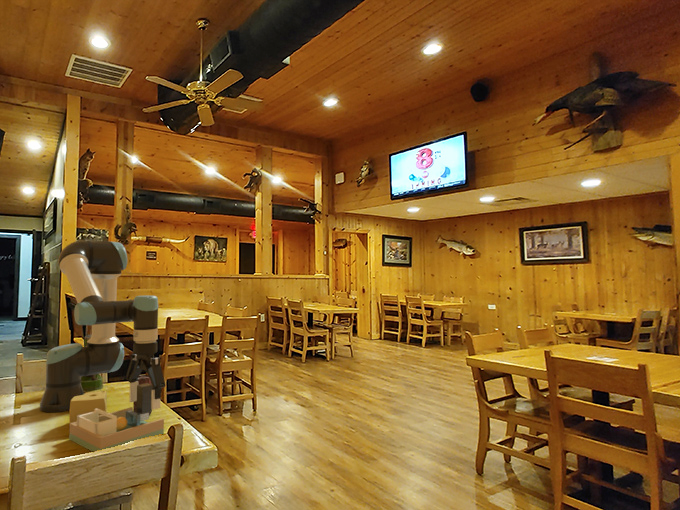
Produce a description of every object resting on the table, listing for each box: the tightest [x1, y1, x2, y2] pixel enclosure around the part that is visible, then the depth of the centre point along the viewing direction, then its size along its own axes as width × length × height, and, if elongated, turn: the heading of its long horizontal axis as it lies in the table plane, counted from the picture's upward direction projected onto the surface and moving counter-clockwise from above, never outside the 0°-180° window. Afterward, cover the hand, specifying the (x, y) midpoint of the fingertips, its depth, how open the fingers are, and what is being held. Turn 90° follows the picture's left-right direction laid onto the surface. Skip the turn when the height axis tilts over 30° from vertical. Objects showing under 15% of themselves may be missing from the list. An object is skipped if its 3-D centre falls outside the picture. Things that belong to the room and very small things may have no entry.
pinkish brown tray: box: [68, 407, 165, 452], centre depth 141 cm, size 20×20×5 cm
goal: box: [77, 408, 117, 436], centre depth 136 cm, size 12×6×7 cm, turn 54°
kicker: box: [126, 383, 153, 427], centre depth 147 cm, size 7×6×12 cm
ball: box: [117, 417, 127, 430], centre depth 142 cm, size 4×4×4 cm
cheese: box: [68, 390, 108, 424], centre depth 152 cm, size 10×11×10 cm
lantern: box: [81, 325, 104, 393], centre depth 197 cm, size 14×11×30 cm
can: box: [132, 374, 152, 417], centre depth 162 cm, size 6×6×14 cm
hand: (144, 404), depth 148 cm, fingers open, 13 cm apart
